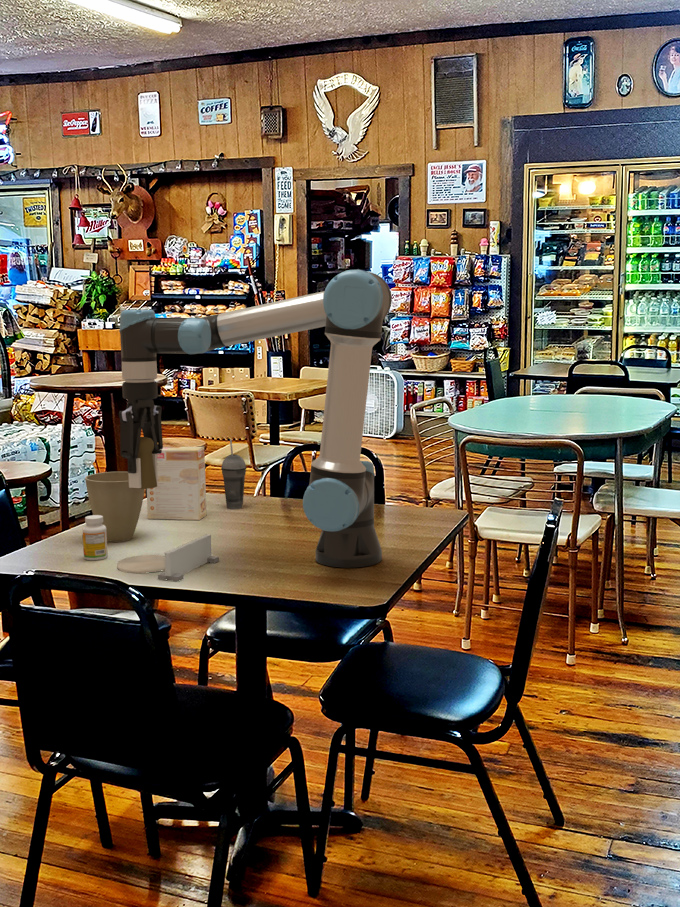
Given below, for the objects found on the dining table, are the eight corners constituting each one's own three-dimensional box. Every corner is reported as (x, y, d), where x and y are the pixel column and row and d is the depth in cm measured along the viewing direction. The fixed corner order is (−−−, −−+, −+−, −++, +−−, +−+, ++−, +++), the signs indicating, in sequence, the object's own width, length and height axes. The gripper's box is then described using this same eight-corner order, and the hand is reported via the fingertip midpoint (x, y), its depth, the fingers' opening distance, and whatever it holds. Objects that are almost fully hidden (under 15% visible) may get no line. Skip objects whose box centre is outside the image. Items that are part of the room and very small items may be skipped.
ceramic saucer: (186, 560, 220) (186, 557, 220) (156, 575, 208) (155, 571, 208) (137, 556, 225) (137, 552, 225) (105, 570, 213) (105, 566, 213)
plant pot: (98, 548, 232) (95, 483, 230) (80, 536, 245) (77, 474, 242) (157, 540, 240) (155, 477, 238) (136, 529, 253) (134, 469, 250)
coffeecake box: (207, 515, 269) (205, 446, 266) (199, 520, 262) (197, 449, 259) (155, 514, 271) (153, 445, 269) (147, 519, 264) (144, 449, 262)
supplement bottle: (89, 554, 227) (87, 514, 225) (111, 555, 226) (109, 514, 224) (79, 560, 221) (77, 518, 220) (102, 561, 221) (100, 519, 219)
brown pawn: (123, 487, 212) (121, 438, 211) (141, 483, 218) (139, 435, 216) (145, 489, 210) (143, 439, 208) (163, 485, 215) (161, 436, 213)
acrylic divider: (219, 560, 220) (218, 535, 219) (178, 581, 203) (177, 554, 202) (199, 559, 222) (199, 533, 221) (157, 579, 205) (156, 552, 204)
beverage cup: (231, 511, 274) (230, 441, 271) (217, 507, 280) (215, 439, 277) (252, 507, 279) (250, 439, 276) (237, 504, 284) (235, 437, 281)
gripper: (148, 377, 220) (152, 477, 224) (99, 383, 203) (104, 491, 206) (177, 378, 218) (180, 478, 221) (129, 384, 200) (134, 493, 204)
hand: (143, 484), depth 214 cm, fingers closed on brown pawn, 6 cm apart
